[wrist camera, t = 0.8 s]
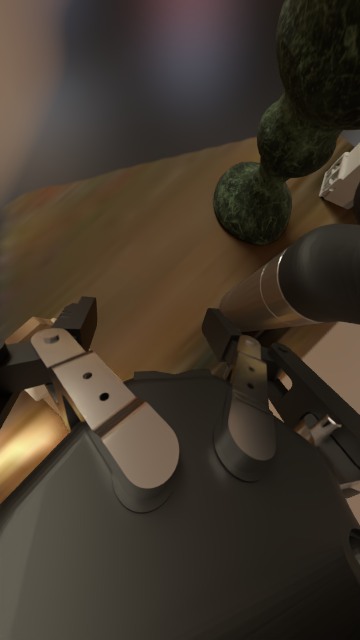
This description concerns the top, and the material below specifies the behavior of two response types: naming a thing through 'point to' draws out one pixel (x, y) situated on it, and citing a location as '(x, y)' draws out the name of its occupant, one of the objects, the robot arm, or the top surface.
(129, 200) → the top surface
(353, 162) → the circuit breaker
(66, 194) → the top surface
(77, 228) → the top surface
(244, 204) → the goblet
